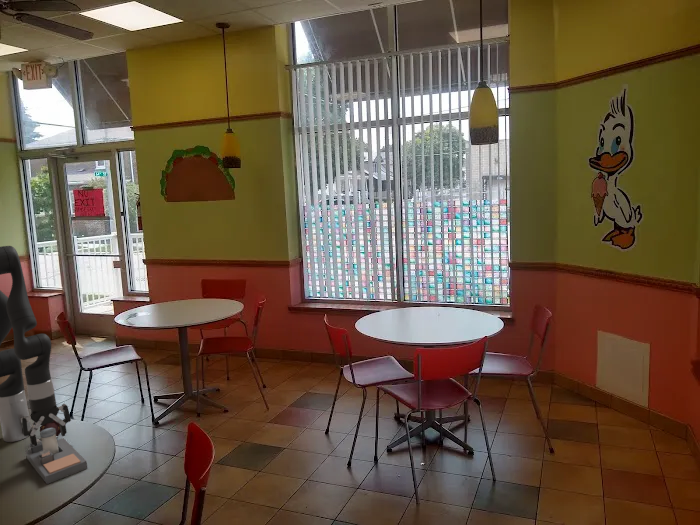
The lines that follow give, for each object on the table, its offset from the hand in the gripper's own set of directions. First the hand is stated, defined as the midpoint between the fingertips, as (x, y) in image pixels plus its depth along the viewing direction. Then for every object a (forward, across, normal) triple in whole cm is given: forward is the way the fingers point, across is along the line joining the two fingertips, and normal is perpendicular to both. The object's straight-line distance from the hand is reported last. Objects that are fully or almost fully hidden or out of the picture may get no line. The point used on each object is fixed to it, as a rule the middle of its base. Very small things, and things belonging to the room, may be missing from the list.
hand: (49, 440), depth 185 cm
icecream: (+7, -5, -19) cm, 21 cm away
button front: (+4, +3, +6) cm, 8 cm away
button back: (+4, +3, -6) cm, 8 cm away
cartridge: (+7, 0, 0) cm, 7 cm away
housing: (+7, 0, +4) cm, 8 cm away
